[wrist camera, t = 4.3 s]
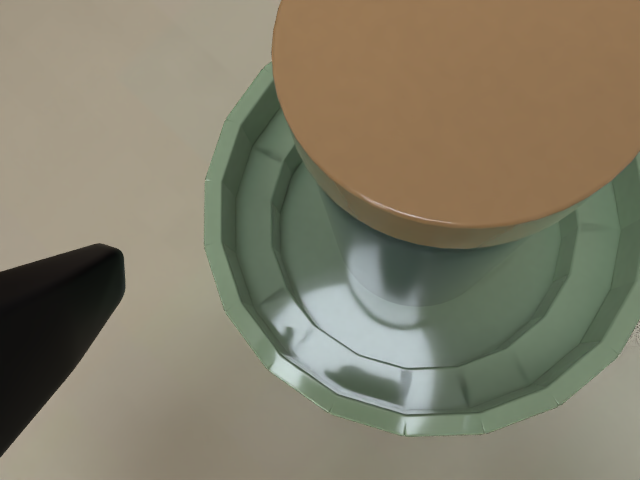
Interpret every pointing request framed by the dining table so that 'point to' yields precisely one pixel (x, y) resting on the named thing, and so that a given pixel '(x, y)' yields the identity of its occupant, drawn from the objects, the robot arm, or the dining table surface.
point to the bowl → (407, 321)
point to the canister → (455, 126)
